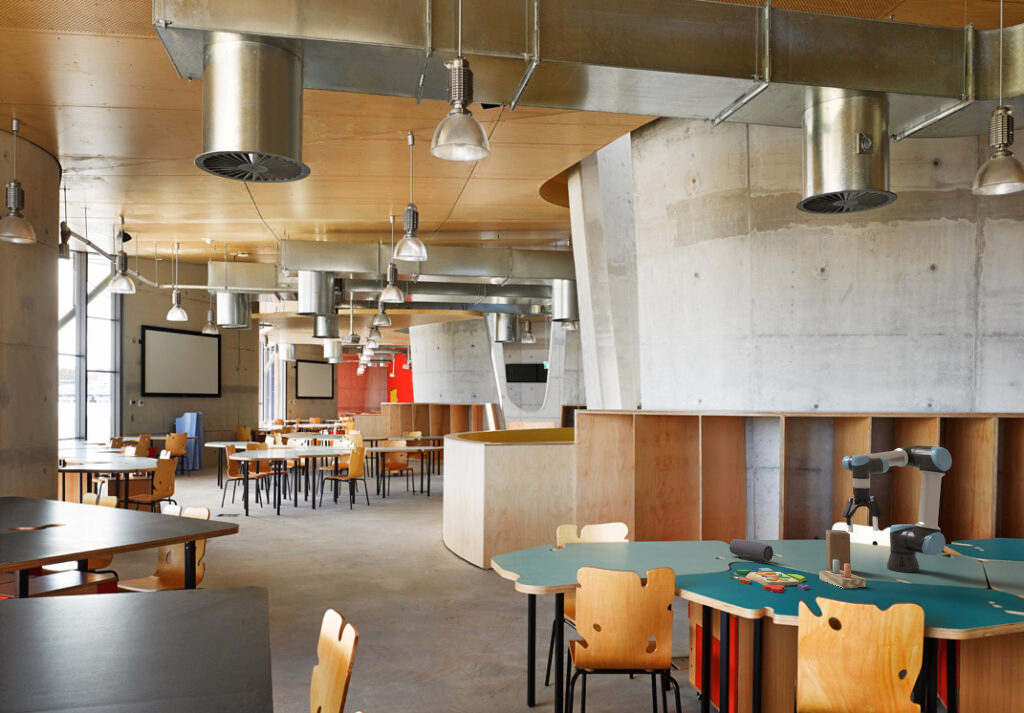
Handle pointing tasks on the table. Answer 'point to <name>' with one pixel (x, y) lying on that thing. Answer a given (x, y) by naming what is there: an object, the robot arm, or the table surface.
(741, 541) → the bluetooth speaker
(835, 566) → the grey peg
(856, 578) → the hole block
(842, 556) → the wooden block
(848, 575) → the red peg
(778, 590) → the pattern blocks set
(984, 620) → the table surface
